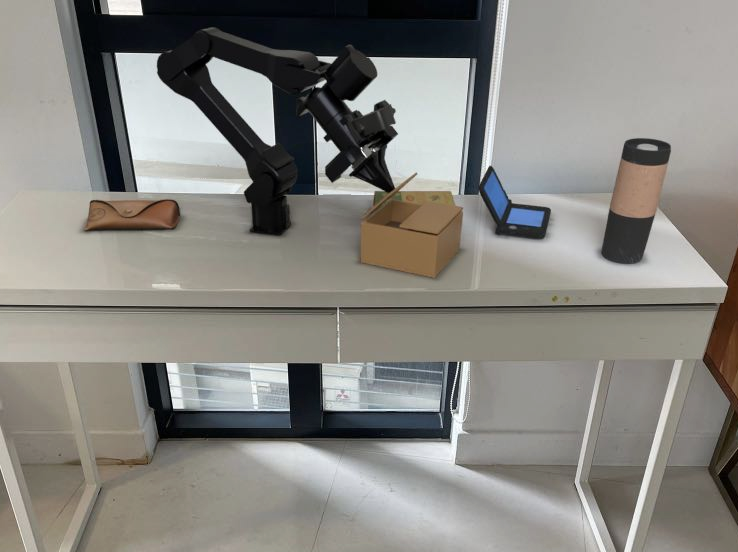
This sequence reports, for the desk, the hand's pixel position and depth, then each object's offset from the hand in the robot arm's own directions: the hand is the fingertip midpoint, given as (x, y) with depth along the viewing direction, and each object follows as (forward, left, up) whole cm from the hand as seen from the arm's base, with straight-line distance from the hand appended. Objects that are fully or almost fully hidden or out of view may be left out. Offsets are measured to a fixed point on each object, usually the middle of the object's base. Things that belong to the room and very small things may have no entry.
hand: (392, 191), depth 125 cm
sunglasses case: (-52, 0, -12) cm, 54 cm away
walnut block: (+1, 0, -11) cm, 11 cm away
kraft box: (+4, -1, -11) cm, 12 cm away
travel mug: (+41, +9, -12) cm, 44 cm away
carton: (+1, +18, -12) cm, 22 cm away
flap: (0, 0, -1) cm, 1 cm away
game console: (+21, +20, -12) cm, 31 cm away
